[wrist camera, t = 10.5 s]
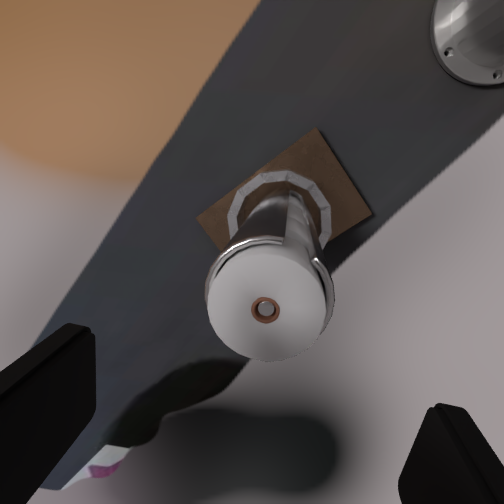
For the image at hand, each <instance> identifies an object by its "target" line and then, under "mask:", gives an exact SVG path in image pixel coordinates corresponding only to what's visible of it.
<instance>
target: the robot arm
mask: <svg viewBox="0 0 504 504" xmlns="http://www.w3.org/2000/svg"><path fill="white" fill-rule="evenodd" d="M430 36H431V43H432V47H433V51H434V54H435V56H436V58H437V60H438V62H439V64H440V65H441V66H442V67H443V69H444V70H445V71H446V72H447V73H448V74H450V75H451V76H452V77H453V78H455V79H457V80H459V81H461V82H463V83H467V84H471V85H476V86H489V85H495V84H500V83H503V82H504V0H436V1H435V4H434V7H433V11H432V16H431V23H430ZM444 52H446V53H447V56H445V55H444ZM493 74H494V76H495V77H494V78H493ZM95 410H96V355H95V335H94V334H93V333H91V330H90V328H89V327H86V326H81V325H76V324H72V323H67V324H65V325H63V326H62V327H61V328H59V329H58V330H57V331H55V332H54V333H53V334H51V335H50V336H48V337H47V338H46V339H44V340H43V341H42V342H40V343H39V344H38V345H36V346H35V347H33V348H32V349H31V350H29V351H28V352H27V353H25V354H24V355H23V356H21V357H20V358H18V359H17V360H16V361H14V362H13V363H12V364H10V365H9V366H8V367H6V368H5V369H4V370H2V371H1V372H0V504H26V503H27V502H28V501H29V499H30V498H31V497H32V495H33V494H34V493H35V492H36V490H37V489H38V488H39V486H40V485H41V484H42V483H43V481H44V480H45V479H46V477H47V476H48V475H49V474H50V472H51V471H52V470H53V468H54V467H55V466H56V464H57V463H58V462H59V461H60V459H61V458H62V457H63V455H64V454H65V453H66V452H67V450H68V449H69V448H70V446H71V445H72V444H73V443H74V441H75V440H76V439H77V437H78V436H79V435H80V433H81V432H82V431H83V430H84V428H85V427H86V426H87V424H88V423H89V422H90V420H91V419H92V417H93V415H94V413H95ZM398 491H399V496H400V499H401V502H402V504H504V466H503V464H502V463H501V461H500V460H499V459H498V457H497V455H496V454H495V452H494V451H493V450H492V448H491V446H490V445H489V443H488V442H487V440H486V439H485V437H484V436H483V435H482V433H481V431H480V430H479V429H478V427H477V425H476V424H475V422H474V421H473V419H472V418H471V416H470V415H469V414H468V412H467V411H466V410H465V409H463V408H461V407H457V406H452V405H448V404H442V403H438V404H436V405H435V407H430V408H429V409H428V410H427V413H426V415H425V417H424V420H423V422H422V425H421V427H420V429H419V432H418V434H417V437H416V439H415V441H414V444H413V446H412V448H411V451H410V453H409V456H408V458H407V460H406V463H405V465H404V468H403V470H402V472H401V475H400V477H399V480H398Z"/></svg>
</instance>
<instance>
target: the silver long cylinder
mask: <svg viewBox="0 0 504 504" xmlns="http://www.w3.org/2000/svg"><path fill="white" fill-rule="evenodd" d="M204 298H205V302H206V307H207V311H208V314H209V318H210V322H211V324H212V326H213V328H214V330H215V332H216V334H217V335H218V336H219V337H220V339H221V340H222V341H223V342H224V343H225V344H226V345H227V346H228V347H230V348H231V349H233V350H234V351H235V352H237V353H238V354H241V355H243V356H246V357H249V358H251V359H256V360H260V361H265V362H271V361H281V360H285V359H287V358H290V357H293V356H296V355H298V354H300V353H301V352H303V351H305V350H307V349H308V348H309V347H310V346H311V345H312V344H313V342H315V341H316V340H317V338H318V337H319V335H320V334H321V333H322V332H323V331H324V330H325V328H326V326H327V324H328V322H329V320H330V318H331V317H332V312H333V307H334V302H335V295H334V285H333V281H332V278H331V275H330V272H329V269H328V266H327V263H326V260H325V256H324V253H323V250H322V247H321V244H320V241H319V238H318V235H317V232H316V229H315V226H314V223H313V219H312V216H311V213H310V210H309V207H308V205H307V202H306V201H305V199H304V198H303V197H302V196H301V195H300V194H298V193H297V192H295V191H293V190H290V189H283V188H282V189H276V190H273V191H271V192H269V193H268V194H266V195H265V196H264V197H263V198H262V200H261V201H260V202H259V203H258V205H257V206H256V207H255V209H254V210H253V211H252V213H251V214H250V215H249V216H248V218H247V219H246V220H245V222H244V223H243V224H242V226H241V227H240V228H239V230H238V231H237V232H236V233H235V235H234V236H233V237H232V239H231V240H230V241H229V243H228V244H227V245H226V247H225V248H224V249H223V250H222V252H221V253H220V254H219V256H218V257H217V259H216V260H215V261H214V263H213V264H212V265H211V267H210V270H209V273H208V275H207V278H206V281H205V296H204Z"/></svg>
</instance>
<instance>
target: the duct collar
mask: <svg viewBox="0 0 504 504" xmlns="http://www.w3.org/2000/svg"><path fill="white" fill-rule="evenodd" d="M282 188H283V189H290V190H293V191H295V192H297V193H298V194H300V195H301V196H302V197H303V198H304V199H305V201H306V202H307V205H308V207H309V210H310V213H311V216H312V219H313V223H314V226H315V229H316V232H317V235H318V238H319V241H320V244H321V247H322V250H323V248H324V247H325V245H326V243H327V242H329V241H330V240H332V239H333V238H335V237H336V236H338V235H340V234H341V233H343V232H344V231H346V230H348V229H349V228H351V227H352V226H354V225H355V224H357V223H359V222H360V221H362V220H363V219H365V218H366V217H368V216H370V215H371V214H372V213H371V211H370V210H369V208H368V207H367V205H366V204H365V202H364V201H363V199H362V197H361V196H360V194H359V193H358V191H357V190H356V188H355V187H354V185H353V184H352V182H351V180H350V179H349V177H348V176H347V174H346V173H345V171H344V170H343V168H342V167H341V165H340V163H339V162H338V160H337V159H336V157H335V156H334V154H333V153H332V151H331V149H330V148H329V146H328V145H327V143H326V142H325V140H324V139H323V137H322V136H321V134H320V132H319V131H318V129H317V128H316V127H315V128H314V129H313V130H311V131H310V132H309V133H307V134H306V135H305V136H303V137H302V138H301V139H299V140H298V141H297V142H295V143H294V144H293V145H291V146H290V147H289V148H287V149H286V150H285V151H283V152H282V153H281V154H280V155H278V156H277V157H276V158H274V159H273V160H272V161H270V162H269V163H268V164H266V165H265V166H264V167H262V168H261V169H260V170H258V171H257V172H256V173H254V174H253V175H252V176H250V177H249V178H248V179H246V180H245V181H244V182H243V183H241V184H240V185H239V186H237V187H236V188H235V189H233V190H232V191H231V192H229V193H228V194H227V195H225V196H224V197H223V198H221V199H220V200H219V201H217V202H216V203H215V204H213V205H212V206H211V207H209V208H208V209H207V210H205V211H204V212H203V213H202V214H200V215H199V216H198V217H196V219H197V221H198V222H199V223H200V225H201V226H202V227H203V229H204V230H205V231H206V233H207V234H208V235H209V236H210V238H211V239H212V240H213V242H214V243H215V244H216V246H217V247H218V248H219V250H220V251H221V252H222V250H223V249H224V248H225V247H226V245H227V244H228V243H229V241H230V240H231V239H232V237H233V236H234V235H235V233H236V232H237V231H238V230H239V228H240V227H241V226H242V224H243V223H244V222H245V220H246V219H247V218H248V216H249V215H250V214H251V213H252V211H253V210H254V209H255V207H256V206H257V205H258V203H259V202H260V201H261V200H262V198H263V197H264V196H265V195H266V194H268V193H269V192H271V191H273V190H276V189H282Z"/></svg>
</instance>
